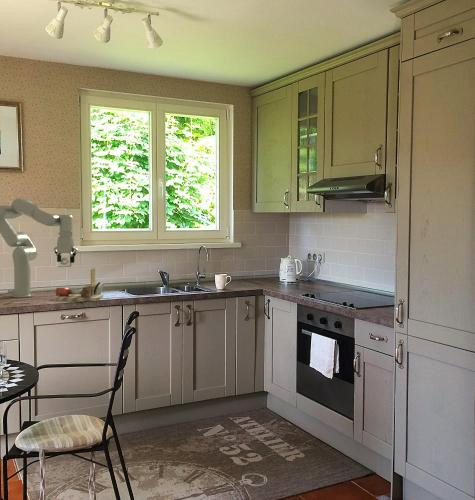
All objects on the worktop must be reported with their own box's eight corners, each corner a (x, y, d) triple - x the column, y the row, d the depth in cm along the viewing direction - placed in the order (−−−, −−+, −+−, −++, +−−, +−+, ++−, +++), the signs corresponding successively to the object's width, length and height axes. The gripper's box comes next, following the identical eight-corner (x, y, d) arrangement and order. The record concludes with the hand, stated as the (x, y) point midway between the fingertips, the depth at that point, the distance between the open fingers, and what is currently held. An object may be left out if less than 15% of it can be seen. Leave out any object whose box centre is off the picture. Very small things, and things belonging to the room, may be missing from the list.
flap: (90, 287, 340) (90, 269, 340) (93, 285, 350) (93, 267, 350) (92, 287, 341) (92, 269, 340) (95, 285, 351) (95, 267, 350)
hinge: (93, 293, 372) (98, 279, 372) (100, 296, 372) (105, 282, 372) (87, 297, 356) (92, 282, 355) (94, 299, 356) (99, 285, 355)
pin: (55, 296, 342) (55, 288, 342) (58, 295, 347) (58, 287, 347) (87, 296, 343) (87, 288, 343) (89, 295, 348) (89, 287, 348)
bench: (56, 301, 338) (56, 287, 337) (62, 297, 352) (62, 285, 351) (98, 301, 339) (98, 287, 339) (102, 297, 353) (102, 285, 353)
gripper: (50, 234, 346) (50, 261, 347) (74, 235, 341) (73, 263, 342) (58, 234, 354) (57, 261, 355) (81, 235, 348) (81, 262, 349)
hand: (65, 262), depth 348 cm, fingers open, 9 cm apart
